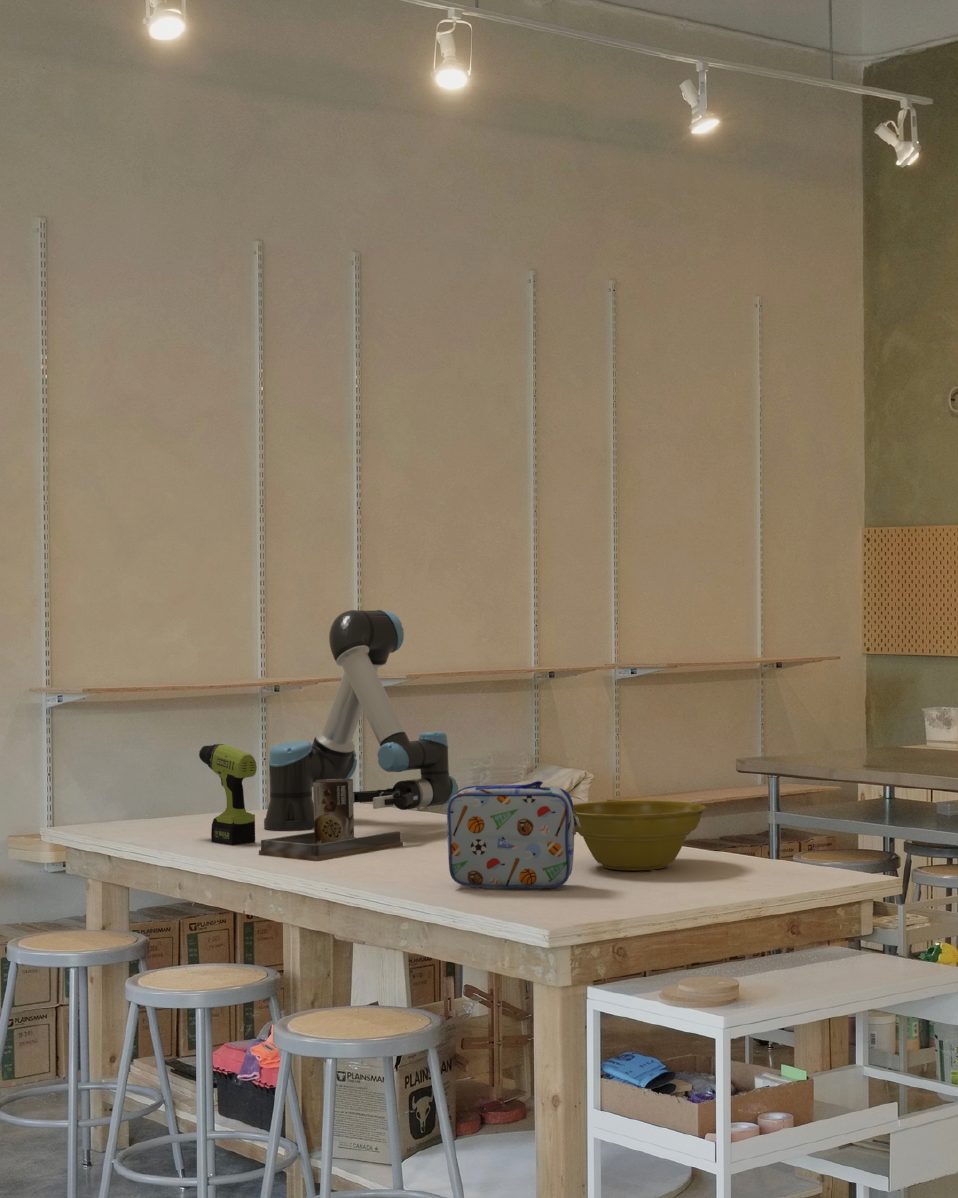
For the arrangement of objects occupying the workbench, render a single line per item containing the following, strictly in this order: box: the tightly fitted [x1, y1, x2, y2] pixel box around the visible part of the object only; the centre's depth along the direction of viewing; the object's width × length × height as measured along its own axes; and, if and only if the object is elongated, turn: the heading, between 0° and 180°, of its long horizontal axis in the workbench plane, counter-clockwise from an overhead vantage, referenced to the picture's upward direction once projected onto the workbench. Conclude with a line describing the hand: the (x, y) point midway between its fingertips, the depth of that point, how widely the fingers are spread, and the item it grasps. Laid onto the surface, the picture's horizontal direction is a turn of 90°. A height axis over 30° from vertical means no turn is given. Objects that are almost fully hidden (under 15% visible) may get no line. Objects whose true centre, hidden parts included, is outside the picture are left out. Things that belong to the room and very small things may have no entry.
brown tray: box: [258, 831, 404, 862], centre depth 375 cm, size 20×30×4 cm, turn 141°
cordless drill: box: [198, 743, 258, 846], centre depth 397 cm, size 23×7×25 cm, turn 42°
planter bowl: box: [573, 800, 708, 872], centre depth 339 cm, size 32×32×13 cm
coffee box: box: [312, 778, 355, 845], centre depth 376 cm, size 9×6×16 cm
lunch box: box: [446, 780, 581, 890], centre depth 314 cm, size 28×10×22 cm, turn 81°
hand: (354, 801), depth 381 cm, fingers open, 13 cm apart
